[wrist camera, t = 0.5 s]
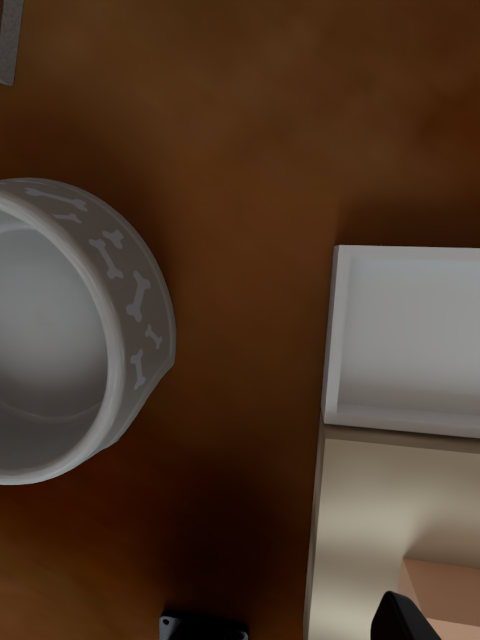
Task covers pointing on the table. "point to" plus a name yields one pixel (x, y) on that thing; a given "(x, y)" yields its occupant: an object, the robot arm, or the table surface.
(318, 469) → the platform
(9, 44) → the banded white pillar
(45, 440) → the dog bowl
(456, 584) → the tall peach block
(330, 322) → the bin
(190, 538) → the table surface
